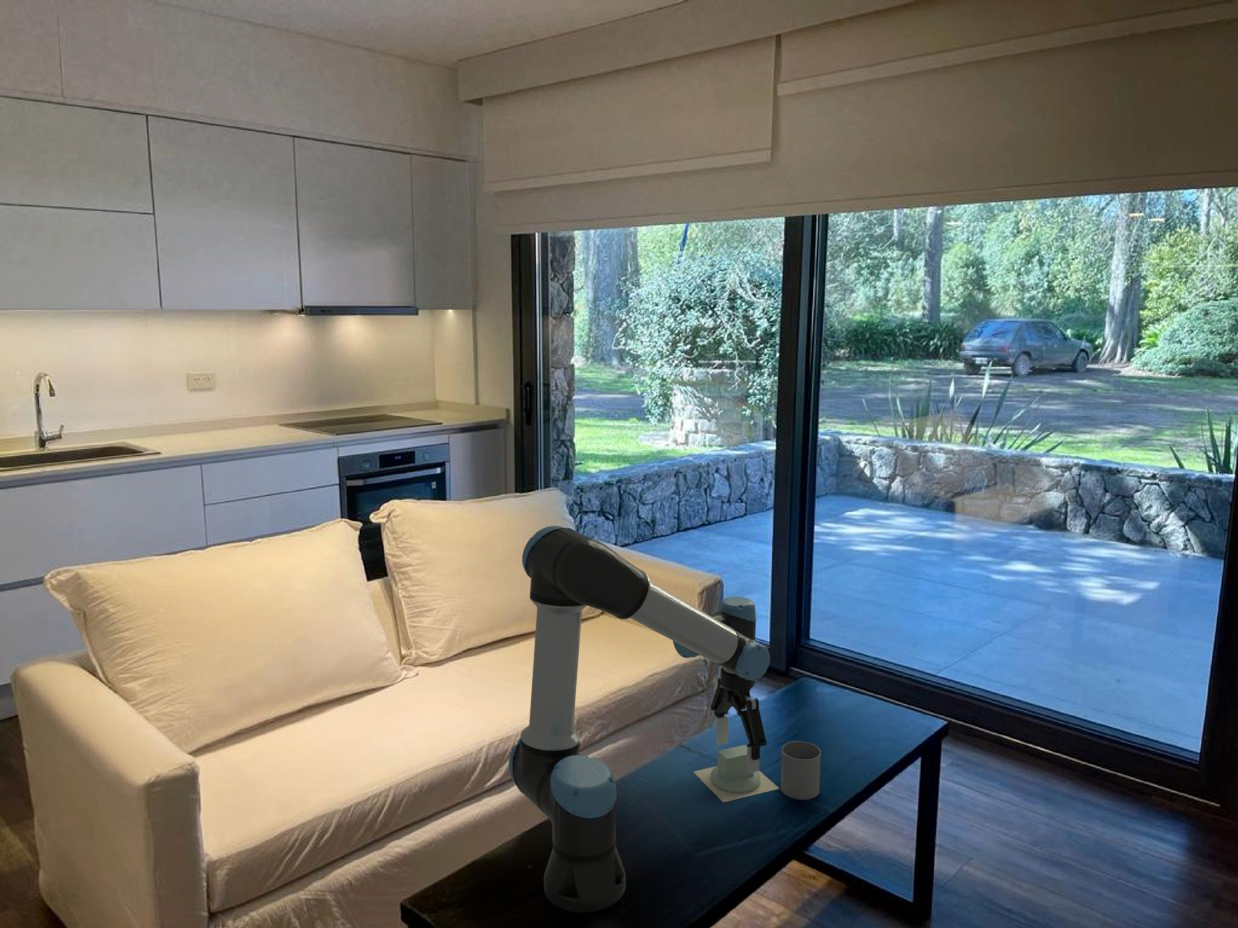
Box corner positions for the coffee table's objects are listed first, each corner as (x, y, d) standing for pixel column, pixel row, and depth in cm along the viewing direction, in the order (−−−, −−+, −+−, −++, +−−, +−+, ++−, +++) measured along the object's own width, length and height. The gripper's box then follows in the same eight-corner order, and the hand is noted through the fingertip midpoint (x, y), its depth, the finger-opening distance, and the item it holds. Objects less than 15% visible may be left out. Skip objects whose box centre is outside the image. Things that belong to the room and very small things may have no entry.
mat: (723, 805, 199) (723, 801, 199) (693, 774, 212) (693, 771, 212) (779, 791, 204) (779, 788, 204) (746, 762, 217) (746, 759, 217)
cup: (819, 804, 199) (820, 761, 197) (780, 800, 201) (781, 757, 199) (818, 784, 207) (820, 742, 206) (781, 780, 209) (782, 739, 207)
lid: (726, 797, 201) (726, 768, 200) (702, 773, 211) (702, 745, 210) (769, 786, 205) (770, 758, 204) (744, 763, 215) (744, 736, 214)
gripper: (783, 686, 193) (782, 779, 197) (724, 644, 216) (724, 729, 220) (752, 693, 190) (751, 787, 194) (695, 650, 213) (696, 735, 217)
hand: (737, 757), depth 207 cm, fingers open, 13 cm apart
